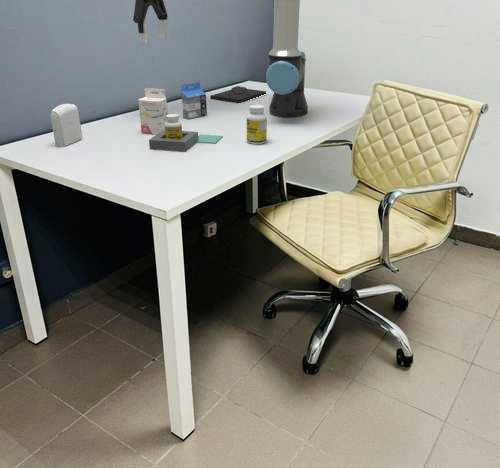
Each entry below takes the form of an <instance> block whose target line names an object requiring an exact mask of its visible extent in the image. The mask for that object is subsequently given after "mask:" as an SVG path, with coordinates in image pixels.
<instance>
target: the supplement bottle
mask: <svg viewBox="0 0 500 468" xmlns="http://www.w3.org/2000/svg"><path fill="white" fill-rule="evenodd" d="M166 120H167V122H166V123H165V134H166V139H179V140H180V139H182V138H183V136H182V131H183V124H182V122H181V121H180V115H179V114H178V113H168V115H166Z"/></svg>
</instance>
